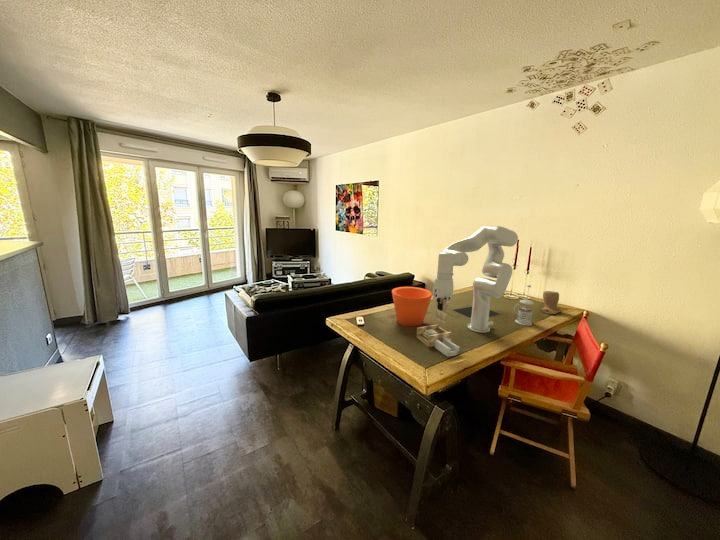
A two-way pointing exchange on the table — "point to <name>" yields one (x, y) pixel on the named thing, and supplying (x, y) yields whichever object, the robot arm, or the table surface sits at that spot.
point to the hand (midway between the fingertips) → (441, 309)
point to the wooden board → (444, 313)
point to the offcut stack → (428, 333)
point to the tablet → (468, 312)
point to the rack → (432, 338)
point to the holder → (447, 347)
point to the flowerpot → (411, 305)
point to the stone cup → (550, 302)
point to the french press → (527, 310)
